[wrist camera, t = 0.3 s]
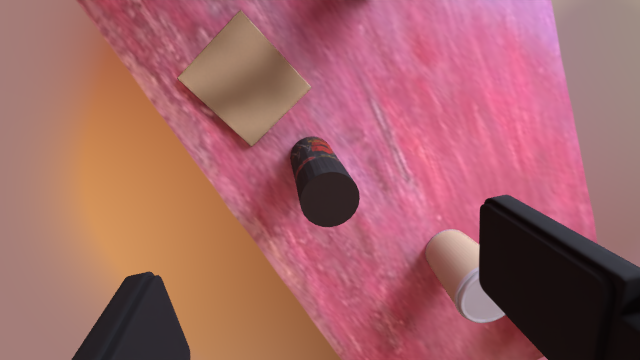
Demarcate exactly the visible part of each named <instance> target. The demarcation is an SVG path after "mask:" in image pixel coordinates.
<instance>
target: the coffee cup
mask: <svg viewBox="0 0 640 360" xmlns="http://www.w3.org/2000/svg"><path fill="white" fill-rule="evenodd" d="M425 255H426V259H427V262H428V263H429V265H430V267H431V268H432V270H433V271H434V273H435V275H436V276H437V278H438V279H439V281H440V282H441V284H442V286H443V287H444V289H445V290H446V292H447V293H448V295H449V296H450V298H451V299H452V301H453V302H454V304H455V306H456V308H457V310H458V312H459V313H460V314H461V315H462V316H463V317H465V318H466V319H469V320H470V321H473V322H477V323H487V322H492V321H495V320H497V319H499V318H501V317H503V316H504V315H506V314H505V313H504V312H503V311H502V310H501V309H500V308H499V307H498V306H497V305H496V304H495V303H494V302H493V301H492V300H491V299H490V297H489V296H488V295H487V294H486V293H485V292H484V291H483V289H482V288H481V286H480V283H479V244H478V243H476V242H475V241H474V240H472V239H471V238H470V237H468V236H467V235H465V234H464V233H462V232H461V231H458V230H454V229H450V230H445V231H442V232H440V233H438V234H437V235H435V236H434V237H433V238H432V239H431V240H430V241H429V243H428V245H427V247H426V252H425Z"/></svg>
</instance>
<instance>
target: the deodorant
mask: <svg viewBox="0 0 640 360" xmlns="http://www.w3.org/2000/svg"><path fill="white" fill-rule="evenodd" d="M290 159H291V165H292V169H293V174H294V178H295V183H296V187H297V192H298V196H299V201H300V205H301V209H302V211H303V214H304V216H305V217H306V218H307V219H308V220H309V221H310V222H312V223H314V224H315V225H318V226H322V227H333V226H338V225H340V224H342V223H344V222H346V221H347V220H348V219H350V218H351V217H352V215H353V214H354V213H355V211H356V209H357V207H358V204H359V199H360V198H359V190H358V188H357V185H356V184H355V182H354V181H353V179H352V178H351V177H350V175H349V174H348V172H347V171H346V169H345V168H344V166H343V165H342V164H341V162H340V161H339V159H338V158H337V156H336V155H335V153H334V152H333V151H332V149H331V148H330V146H329V145H328V144H327V142H325V141H324V140H323V139H320V138H318V137H306V138H304V139H301V140H300V141H299V142H297V143H296V144H295V146H294V147H293V149H292V152H291V157H290Z"/></svg>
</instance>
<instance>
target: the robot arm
mask: <svg viewBox="0 0 640 360" xmlns="http://www.w3.org/2000/svg"><path fill="white" fill-rule="evenodd" d="M479 283H480V286H481V288H482V289H483V291H484V292H485V293H486V294H487V295H488V296H489V297H490V299H491V300H492V301H493V302H494V303H495V304H496V305H497V306H498V307H499V308H500V309H501V310H502V311H503V312H504V313H505V314H506V316H507V317H508V318H509V319H510V320H511V321H512V322H513V323H514V324H515V325H516V326H517V327H518V328H519V329H520V330H521V332H522V333H523V334H524V335H525V336H526V337H527V338H528V339H529V340H530V341H531V342H532V343H533V344H534V345H535V346H536V348H537V349H538V350H539V351H540V352H541V353H542V354H543V355H544V356H545V357H546V358H547V359H548V360H640V267H638V266H636V265H634V264H632V263H631V262H629V261H627V260H625V259H623V258H622V257H620V256H618V255H616V254H614V253H612V252H611V251H609V250H607V249H605V248H604V247H602V246H600V245H598V244H596V243H595V242H593V241H591V240H589V239H587V238H585V237H584V236H582V235H580V234H578V233H576V232H575V231H573V230H571V229H569V228H567V227H566V226H564V225H562V224H560V223H558V222H557V221H555V220H553V219H551V218H549V217H548V216H546V215H544V214H542V213H540V212H539V211H537V210H535V209H533V208H531V207H530V206H528V205H526V204H524V203H522V202H520V201H519V200H517V199H515V198H513V197H511V196H509V195H502V196H497V197H493V198H488V199H486V200H485V202H484V204H483V205H482V206H481V207H480V233H479ZM72 360H190V349H189V346H188V343H187V341H186V338H185V336H184V333H183V331H182V328H181V326H180V323H179V321H178V318H177V316H176V313H175V311H174V308H173V306H172V303H171V301H170V298H169V296H168V293H167V291H166V289H165V286H164V283H163V281H162V279H161V277H160V276H159V275H156V276H154V274H153V273H152V272H146V273H141V274H136V275H131V276H128V277H126V278H125V279H124V281H123V282H122V284H121V286H120V287H119V289H118V290H117V292H116V293H115V295H114V296H113V298H112V299H111V301H110V302H109V304H108V305H107V307H106V308H105V310H104V311H103V313H102V314H101V316H100V317H99V319H98V320H97V322H96V323H95V325H94V326H93V328H92V329H91V331H90V332H89V334H88V336H87V337H86V339H85V340H84V342H83V343H82V345H81V346H80V348H79V349H78V351H77V352H76V354H75V356H74V357H73V358H72Z"/></svg>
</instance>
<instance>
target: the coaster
mask: <svg viewBox="0 0 640 360" xmlns="http://www.w3.org/2000/svg"><path fill="white" fill-rule="evenodd" d="M177 79H178V80H179V81H180V82H182V83H183V84H184V85H185V86H186V87H187V88H188V89H189V90H190V91H191V92H192V93H194V94H195V95H196V96H197V97H198V98H199V99H200V100H201V101H202V102H203V103H204V104H206V105H207V106H208V107H209V108H210V109H211V110H212V111H213V112H214V113H215V114H216V115H218V116H219V117H220V118H221V119H222V120H223V121H224V122H225V123H226V124H227V125H228V126H229V127H231V128H232V129H233V130H234V131H235V132H236V133H237V134H238V135H239V136H240V137H241V138H243V139H244V140H245V141H246V142H247V143H248V144H249V145H250V146H251V147H252V146H253V145H254V144H255V143H256V142H257V141H258V140H259V139H260V138H261V137H262V136H263V135H264V134H265V133H266V132H267V131H268V130H269V129H270V128H271V127H272V126H273V125H274V124H275V123H276V122H277V121H278V120H280V119H281V118H282V117H283V116H284V115H285V114H286V113H287V112H288V111H289V110H290V109H291V108H292V107H293V106H294V105H295V104H296V103H297V102H298V101H299V100H300V99H301V98H302V97H303V96H304V95H305V94H306V93H307V92H308V91H309V90H310V89H311V86H310V85H309V84H308V83H307V82H306V81H305V80H304V79H303V78H302V77H301V75H300V74H299V73H298V72H297V71H296V70H295V69H294V68H293V67H292V66H291V64H290V63H289V62H288V61H287V60H286V59H285V58H284V57H283V56H282V55H281V54H280V52H279V51H278V50H277V49H276V48H275V47H274V46H273V45H272V44H271V43H270V42H269V40H268V39H267V38H266V37H265V36H264V35H263V34H262V33H261V32H260V31H259V29H258V28H257V27H256V26H255V25H254V24H253V23H252V22H251V21H250V20H249V19H248V17H247V16H246V15H245V14H244V13H243V12H242V11H241V10H240V11H239V12H238V13H237V14H236V15H235V16H234V17H233V18H232V19H231V20H230V22H229V23H228V24H227V25H226V26H225V27H224V28H223V29H222V30H221V31H220V32H219V33H218V35H217V36H216V37H215V38H214V39H213V40H212V41H211V42H210V43H209V44H208V45H207V46H206V48H205V49H204V50H203V51H202V52H201V53H200V54H199V55H198V56H197V57H196V58H195V59H194V60H193V62H192V63H191V64H190V65H189V66H188V67H187V68H186V69H185V70H184V71H183V72H182V73H181V75H180V76H179V77H178V78H177Z"/></svg>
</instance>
